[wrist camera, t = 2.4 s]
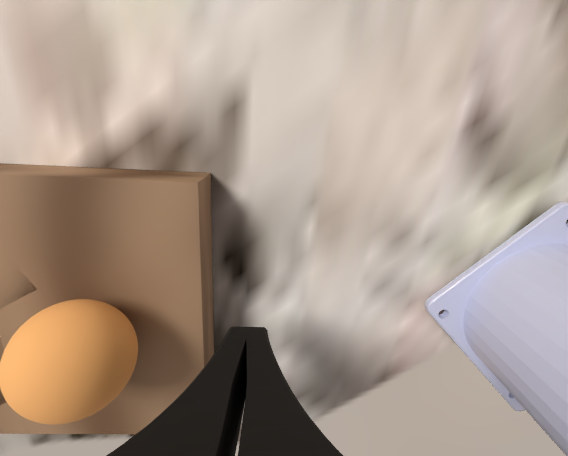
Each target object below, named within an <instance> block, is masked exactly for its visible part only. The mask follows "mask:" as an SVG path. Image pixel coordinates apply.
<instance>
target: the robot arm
mask: <svg viewBox="0 0 568 456" xmlns="http://www.w3.org/2000/svg"><path fill="white" fill-rule="evenodd" d="M567 220H568V203H566V202H559V203H557V204H555V205H554V206H553V207H551V208H550V209H548V210H547V211H546V212H544V213H543V214H542V215H540V216H539V217H538V218H536V219H535V220H534V221H532V222H531V223H529V224H528V225H527V226H525V227H524V228H523V229H521V230H520V231H519V232H517V233H516V234H515V235H513V236H512V237H511V238H509V239H508V240H506V241H505V242H504V243H502V244H501V245H500V246H498V247H497V248H496V249H494V250H493V251H492V252H490V253H489V254H487V255H486V256H485V257H483V258H482V259H481V260H479V261H478V262H477V263H475V264H474V265H473V266H471V267H470V268H468V269H467V270H466V271H464V272H463V273H462V274H460V275H459V276H458V277H456V278H455V279H454V280H452V281H451V282H450V283H448V284H447V285H445V286H444V287H443V288H441V289H440V290H439V291H437V292H436V293H435V294H433V295H432V296H431V297H429V298H428V299H427V300H426V302H425V308H426V310H427V311H428V312H429V313H430V315H431V316H432V317H433V318H434V319H435V320H436V321H437V323H438V324H439V325H440V326H441V327H442V328H443V329H444V331H445V332H446V333H447V334H448V335H449V336H450V337H451V338H452V340H453V341H454V342H455V343H456V344H457V345H458V346H459V348H460V349H461V350H462V351H463V352H464V353H465V354H466V356H467V357H468V358H469V359H470V360H471V361H472V362H473V363H474V365H475V366H476V367H477V368H478V369H479V370H480V371H481V373H482V374H483V375H484V376H485V377H486V378H487V379H488V380H489V382H490V383H491V384H492V385H493V386H494V387H495V388H496V389H497V391H498V392H499V393H500V394H501V395H502V396H503V398H504V399H505V400H506V401H507V402H508V403H509V404H510V406H511V407H512V408H513V409H514V410H516V411H523V410H526V411H527V412H528V413H529V414H530V415H531V416H532V417H533V419H534V420H535V421H536V422H537V423H538V424H539V425H540V426H541V428H542V429H543V430H544V431H545V432H546V433H547V434H548V435H549V437H550V438H551V439H552V440H553V441H554V442H555V443H556V444H557V446H558V447H559V448H560V449H561V450H562V451H563V452H564V453H565V454H566V456H568V223H567V224H566V221H567ZM441 310H445V311H444V312H443V313H442V314H439V312H440V311H441ZM244 403H245V407H244ZM243 408H244V415H243V423H242V430H241V437H240V444H239V452H238V456H343V455H342V454H341V453H340V452H339V451H338V450H337V449H336V448H335V447H334V446H333V445H332V444H331V442H330V441H329V440H328V439H327V438H326V437H325V436H324V434H323V433H322V432H321V431H320V430H319V428H318V427H317V426H316V425H315V423H314V422H313V421H312V420H311V418H310V417H309V416H308V414H307V413H306V412H305V410H304V409H303V407H302V406H301V405H300V403H299V401H298V400H297V398H296V397H295V395H294V394H293V392H292V390H291V389H290V387H289V385H288V383H287V381H286V380H285V378H284V376H283V374H282V372H281V370H280V368H279V365H278V363H277V361H276V359H275V356H274V354H273V351H272V348H271V345H270V342H269V338H268V333H267V330H266V328H264V327H231V328H230V329H229V331H228V333H227V335H226V336H225V338H224V340H223V341H222V343H221V344H220V346H219V348H218V349H217V351H216V352H215V353H214V355H213V356H212V357H211V359H210V360H209V362H208V363H207V364H206V366H205V367H204V368H203V369H202V371H201V372H200V373H199V374H198V375H197V377H196V378H195V379H194V380H193V382H192V383H191V384H190V385H189V386H188V387H187V388H186V389H185V390H184V391H183V393H182V394H181V395H180V396H179V397H178V398H177V399H176V400H175V401H174V402H173V403H172V404H171V405H169V406H168V407H167V408H166V409H165V410H164V411H163V412H162V413H161V414H160V415H159V416H158V417H156V418H155V419H154V420H153V421H152V422H151V423H149V424H148V425H147V426H146V427H145V428H143V429H142V430H141V431H139V432H138V433H137V434H136V435H134V436H133V437H132V438H130V439H129V440H128V441H127V442H125V443H124V444H123V445H121V446H120V447H118V448H117V449H116V450H114V451H113V452H111V453H110V454H108V455H107V456H235V451H236V446H237V441H238V436H239V430H240V425H241V419H242V414H243Z"/></svg>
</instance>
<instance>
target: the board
mask: <svg viewBox="0 0 568 456" xmlns="http://www.w3.org/2000/svg"><path fill="white" fill-rule="evenodd" d="M76 299H90V300H97V301H101V302H105V303H107V304H110V305H112V306H113V307H115V308H117V309H118V310H120V311H121V312H122V313H123V314H124V315H125V316H126V317H127V318H128V319H129V321H130V322H131V324H132V326H133V328H134V330H135V332H136V336H137V341H138V356H137V362H136V365H135V368H134V371H133V373H132V376H131V378H130V379H129V381H128V383H127V384H126V386H125V387H124V389H123V390H122V391H121V392H120V394H119V395H118V396H117V397H116V398H115V399H114V400H113V401H112V402H110V403H109V404H108V405H107V406H106V407H104V408H103V409H101V410H100V411H98V412H96V413H95V414H93V415H91V416H89V417H86V418H84V419H81V420H79V421H75V422H71V423H66V424H41V423H37V422H34V421H31V420H28V419H26V418H24V417H22V416H21V415H19V414H18V413H16V412H15V411H14V410H13V409H12V408H11V407H10V406H9V405H8V403H7V402H6V400H5V398H4V396H3V394H2V392H1V389H0V433H9V434H137V433H138V432H139V431H141V430H142V429H143V428H145V427H146V426H147V425H148V424H149V423H151V422H152V421H153V420H154V419H155V418H156V417H158V416H159V415H160V414H161V413H162V412H163V411H164V410H165V409H166V408H167V407H168V406H169V405H171V404H172V403H173V402H174V401H175V400H176V399H177V398H178V397H179V396H180V395H181V394H182V393H183V391H184V390H185V389H186V388H187V387H188V386H189V385H190V384H191V383H192V382H193V380H194V379H195V378H196V377H197V375H198V374H199V373H200V372H201V371H202V369H203V368H204V367H205V366H206V364H207V363H208V362H209V360H210V359H211V357H212V356H213V355H214V311H213V260H212V209H211V173H199V172H177V171H155V170H133V169H111V168H88V167H66V166H44V165H22V164H0V361H1V358H2V355H3V352H4V350H5V348H6V346H7V344H8V342H9V341H10V339H11V337H12V336H13V335H14V334H15V332H16V331H17V330H18V329H19V328H20V327H21V326H22V325H23V324H24V323H25V322H26V321H27V320H28V319H30V318H31V317H32V316H34V315H35V314H37V313H38V312H40V311H41V310H43V309H45V308H47V307H50V306H52V305H54V304H57V303H61V302H64V301H69V300H76Z"/></svg>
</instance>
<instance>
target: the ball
mask: <svg viewBox="0 0 568 456" xmlns="http://www.w3.org/2000/svg"><path fill="white" fill-rule="evenodd" d="M137 356H138V341H137V336H136V332H135V330H134V328H133V326H132V324H131V322H130V321H129V319H128V318H127V317H126V316H125V315H124V314H123V313H122V312H121V311H120V310H118V309H117V308H115V307H113V306H112V305H110V304H107V303H105V302H101V301H97V300H90V299H76V300H69V301H64V302H61V303H57V304H54V305H52V306H50V307H47V308H45V309H43V310H41V311H40V312H38V313H37V314H35V315H34V316H32V317H31V318H30V319H28V320H27V321H26V322H25V323H24V324H23V325H22V326H21V327H20V328H19V329H18V330H17V331H16V332H15V334H14V335H13V336H12V337H11V339H10V341H9V342H8V344H7V346H6V348H5V350H4V352H3V355H2V358H1V361H0V389H1V392H2V394H3V396H4V398H5V400H6V402H7V403H8V405H9V406H10V407H11V408H12V409H13V410H14V411H15V412H16V413H18V414H19V415H21V416H22V417H24V418H26V419H28V420H31V421H34V422H37V423H41V424H66V423H71V422H75V421H79V420H81V419H84V418H86V417H89V416H91V415H93V414H95V413H96V412H98V411H100V410H101V409H103V408H104V407H106V406H107V405H108V404H109V403H110V402H112V401H113V400H114V399H115V398H116V397H117V396H118V395H119V394H120V392H121V391H122V390H123V389H124V387H125V386H126V384H127V383H128V381H129V379H130V378H131V376H132V373H133V371H134V368H135V365H136V362H137Z"/></svg>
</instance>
